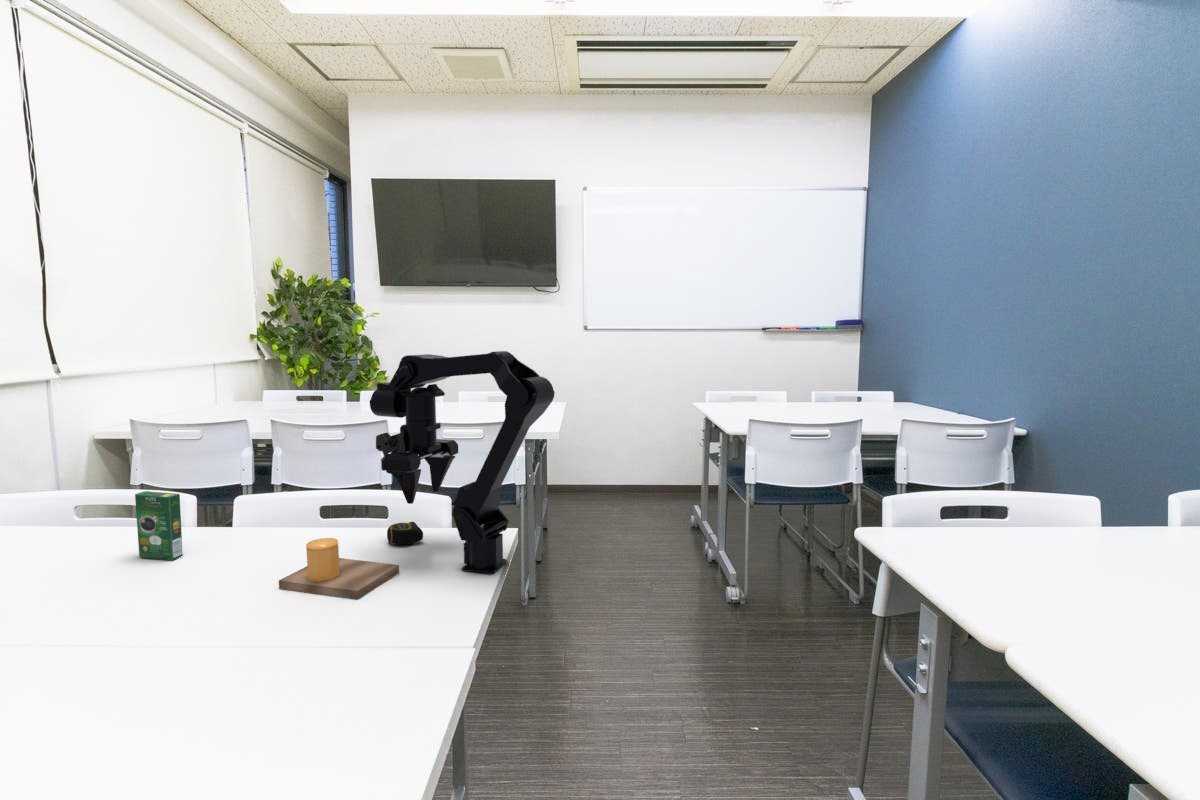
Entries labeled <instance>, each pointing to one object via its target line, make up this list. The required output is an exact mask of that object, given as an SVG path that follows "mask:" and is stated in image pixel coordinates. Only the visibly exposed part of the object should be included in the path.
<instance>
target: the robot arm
mask: <svg viewBox="0 0 1200 800" xmlns="http://www.w3.org/2000/svg"><path fill="white" fill-rule="evenodd" d="M482 374H490V375H491V376H492V377H493V378H494V379H493V380H495V382H496V385H497V386H498V388H499V391H501V392H502V393H503V394H504V395H505V396H506V398H505V402H504V413H505V414H504V415H505V418H504V421H503V423H502V425H501V427H500V429H499V431H498V432H497V436H496V437H495V440H494V441H493V443H492V445H491V448H490V450H489V452H488V454H487V456H486V459H485V461H484V463H483V464H482V467H481V469H480V471H479V473H478V475H477V477H476V480H475V481H472V482H469V483H467V484H465V485H462V486H460V487H459V489H458V491H457V495H456V497H455V499H454V501H453V502H451V505H452V506H453V507H452V510H451V516H452V517H453V520H454V524H455V525H456V529H457V532H458V535H459V537H460V538H459V539H460V540H461V541H463V542H464V541H465V542H464V543H463V563H464V564H465V565H463V566H462V567H461V571H465V572H472V573H473V572H474V573H481V574H483V573H484V574H489V575H490V574H495V573H496V572H497V571H498V570H499V569H501V567H503V566H505V564H507V563H508V562H507V561H508V560H507V559H506V558H504V548H503V547H504V543H503V541H504V540H503V539H504V538H503V533H502V532H505V531H507V529H508V525H509V523H510V521H509V519H508V518H507V516H505V514H504V513H503V511H502V510H501V509H500V508H499V506H500V503H501V496H500V489H501V487H502V484H503V482H504V480H505V479H506V476H507V474H508V472H509V470H510V468H511V466H512V464H513V462H514V460H515V458H516V456H517V454H518V452H519V450H520V449H521V448H520V447H521V446H522V443H523V442H524V440H525V438H526V435H527V434H528V432H529V430H530V427H531V426H532V425H533V424H535V422H537V420H538V419H539V418H540V417H542V415H544V413H545V412H546V411H547V409H548V408H549V406H550V405H551V404H552V402H553V401H554V398H555V394H556V393H555V390H554V386H553V384H552V383H551V382H550V380H548V378H546V377H544V376H541V375H540V374H538V372H537V371H536V370H534V369H533V368H531V367H529V366H527V365H526V364H525V363H524V362H521V361H520V360H519V359H518V358H516V357H515V355H513V354H512V353H511V352H509V351H508V350H503V351H502V350H499V351H498V350H497V351H490V352H488V353H481V354H469V355H460V356H449V357H448V356H443V355H438V354H431V353H430V354H428V353H427V354H409V355H404V356H403V357H401V359H400V361H399V363H398V366H397V369H396V371H395V373H394V375H393V376H392V377H391V380H390V381H389V382H378V383H376V389H375V390H374V391H373V392H372V395H371V397H370V400H369V408H370V410H371V413H372V414H373V415H375V416H377V417H388V418H405V424H402V425H400V428H399V432H398V433H396V434H392V435H390V434H389V432H384V433H380V434H378V435H376V436H375V448H376V450H377V451H379V452H382V454H383V457H381V459H380V464H381V465H380V466H381V467H380V469H381V471H385V472H386V473H387V474H390V475H392V476H393V477H394V478H395V479H396V481H397V482H398V484H399V486H400V488H401V489H400V490H401V491H402V493H403V495H404V497H405V500H406V503H407V504H409V505H411V504H414V502H415V498H416V494H417V492H418V491H417V490H418V486H419V482H420V478H421V473H422V469H421V468H420V465H421V463H422V462H421V460H425V462H426V463H427V464H428V466H429V473H430V481H431V488H432V492H434V493H435V492H436V493H437V492H439V491H440V489H441V486H442V485H443V482H444V480H445V477H446V475H447V473H448V470H449V469H450V467H451V464H452V463H453V461H454V459H456V455H457V454H459V444H458V442H457V441H455V439H442V438H437V437H438V435H437V430H438V429H441V428H442V427H441V425H442V424H441V422H437V410H436V409H437V407H436V398H437V397H438V398H439V397H444V396H445V395H446V392H444V390H443V389H441V388H439V386H438V385H437V384H436V382H440V381H442V380H446V379H447V378H451V377H459V376H469V375H470V376H471V375H482ZM427 384H428V385H427ZM426 385H427V386H426ZM424 386H426V387H424Z"/></svg>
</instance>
